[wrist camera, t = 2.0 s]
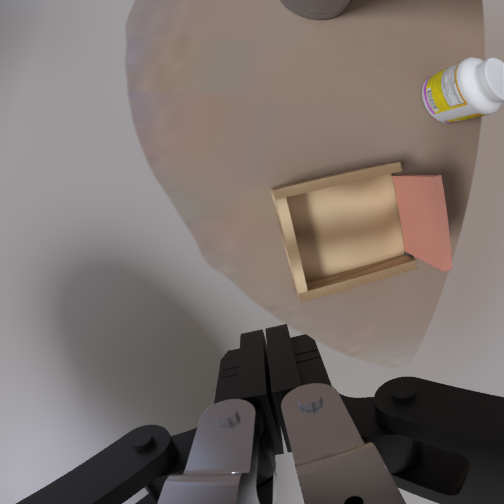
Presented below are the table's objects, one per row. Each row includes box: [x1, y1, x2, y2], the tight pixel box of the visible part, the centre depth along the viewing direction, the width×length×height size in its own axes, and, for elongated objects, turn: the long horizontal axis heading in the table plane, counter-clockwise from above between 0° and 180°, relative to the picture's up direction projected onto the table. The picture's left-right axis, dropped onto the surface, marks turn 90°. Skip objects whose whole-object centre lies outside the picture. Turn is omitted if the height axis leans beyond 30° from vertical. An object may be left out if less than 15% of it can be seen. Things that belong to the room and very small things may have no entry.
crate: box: [271, 162, 417, 302], centre depth 35 cm, size 12×15×4 cm
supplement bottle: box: [422, 57, 504, 123], centre depth 27 cm, size 7×7×13 cm
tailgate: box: [392, 175, 452, 272], centre depth 30 cm, size 9×1×9 cm, turn 14°
